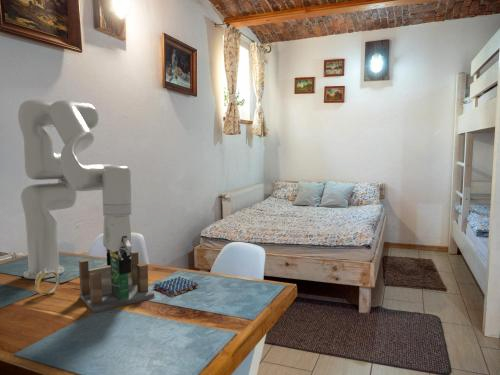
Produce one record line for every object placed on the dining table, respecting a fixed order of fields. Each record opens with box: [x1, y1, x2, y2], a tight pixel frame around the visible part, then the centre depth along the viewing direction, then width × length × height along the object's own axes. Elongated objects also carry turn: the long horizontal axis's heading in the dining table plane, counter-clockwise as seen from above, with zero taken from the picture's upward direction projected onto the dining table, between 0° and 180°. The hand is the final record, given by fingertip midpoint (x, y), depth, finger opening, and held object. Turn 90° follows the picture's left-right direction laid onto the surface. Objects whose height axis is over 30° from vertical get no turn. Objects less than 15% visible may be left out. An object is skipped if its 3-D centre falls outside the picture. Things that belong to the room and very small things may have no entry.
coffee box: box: [110, 251, 129, 301], centre depth 108 cm, size 8×3×13 cm, turn 36°
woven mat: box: [152, 276, 199, 298], centre depth 119 cm, size 10×11×2 cm
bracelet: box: [34, 267, 61, 295], centre depth 114 cm, size 7×3×8 cm, turn 141°
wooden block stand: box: [78, 250, 155, 314], centre depth 111 cm, size 14×17×11 cm
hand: (118, 268), depth 108 cm, fingers open, 9 cm apart
